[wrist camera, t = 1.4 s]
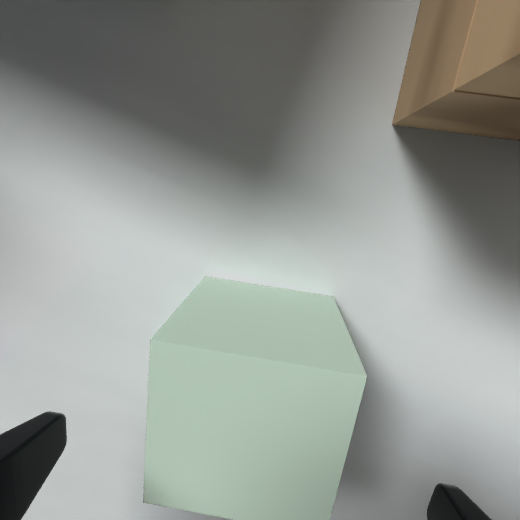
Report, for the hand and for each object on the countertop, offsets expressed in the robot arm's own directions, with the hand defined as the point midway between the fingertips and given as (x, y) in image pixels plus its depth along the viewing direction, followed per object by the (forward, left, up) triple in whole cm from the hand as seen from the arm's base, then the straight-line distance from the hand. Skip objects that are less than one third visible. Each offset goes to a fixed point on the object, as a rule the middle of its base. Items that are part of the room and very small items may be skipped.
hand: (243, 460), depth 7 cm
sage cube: (0, 0, -5) cm, 5 cm away
